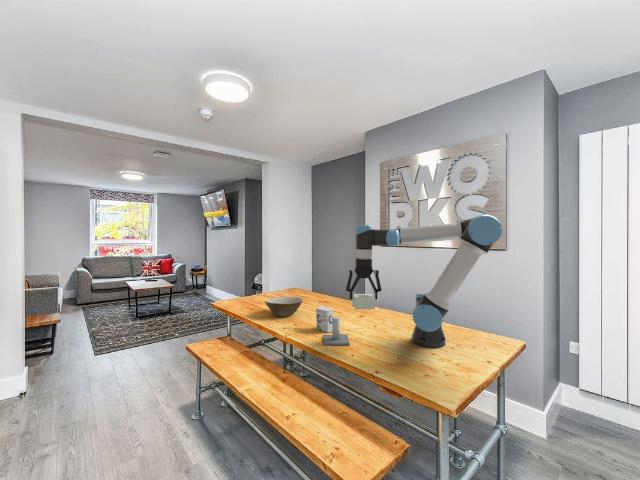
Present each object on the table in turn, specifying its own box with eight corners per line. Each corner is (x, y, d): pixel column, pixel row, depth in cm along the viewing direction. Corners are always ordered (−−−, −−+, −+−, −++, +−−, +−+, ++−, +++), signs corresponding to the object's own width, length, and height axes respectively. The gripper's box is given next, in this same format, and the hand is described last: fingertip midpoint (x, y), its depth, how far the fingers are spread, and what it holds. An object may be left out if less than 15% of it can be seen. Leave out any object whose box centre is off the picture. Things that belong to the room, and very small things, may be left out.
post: (347, 336, 151) (347, 314, 151) (349, 345, 139) (349, 322, 139) (323, 336, 151) (323, 314, 150) (323, 345, 139) (323, 322, 139)
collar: (371, 304, 145) (371, 294, 145) (374, 309, 136) (375, 298, 136) (352, 304, 145) (352, 293, 145) (355, 309, 136) (355, 298, 136)
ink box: (334, 330, 160) (334, 308, 159) (327, 333, 156) (327, 310, 156) (322, 327, 166) (322, 305, 165) (315, 329, 162) (315, 307, 162)
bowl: (271, 309, 204) (271, 294, 204) (306, 310, 201) (306, 295, 200) (259, 319, 181) (259, 302, 180) (298, 320, 177) (298, 304, 177)
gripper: (385, 257, 144) (384, 304, 145) (340, 257, 144) (339, 304, 145) (389, 259, 136) (388, 308, 137) (341, 258, 136) (340, 308, 137)
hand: (363, 306), depth 141 cm, fingers closed on collar, 9 cm apart
